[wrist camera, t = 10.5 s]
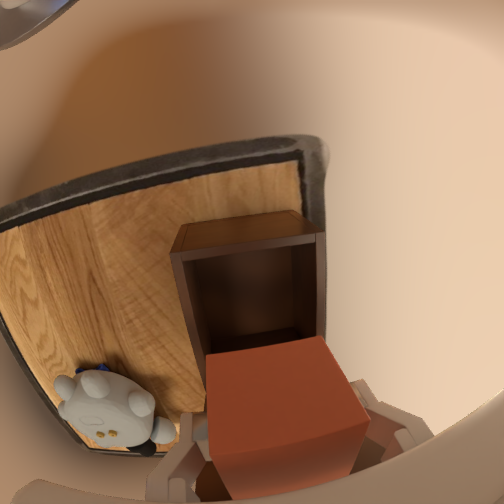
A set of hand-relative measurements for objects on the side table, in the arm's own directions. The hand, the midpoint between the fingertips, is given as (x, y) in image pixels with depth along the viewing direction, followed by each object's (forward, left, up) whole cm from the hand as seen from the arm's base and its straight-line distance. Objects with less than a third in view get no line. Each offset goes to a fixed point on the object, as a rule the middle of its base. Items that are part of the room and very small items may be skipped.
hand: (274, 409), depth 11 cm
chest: (+1, +3, -20) cm, 21 cm away
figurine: (+29, +4, -21) cm, 36 cm away
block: (0, 0, -2) cm, 2 cm away
